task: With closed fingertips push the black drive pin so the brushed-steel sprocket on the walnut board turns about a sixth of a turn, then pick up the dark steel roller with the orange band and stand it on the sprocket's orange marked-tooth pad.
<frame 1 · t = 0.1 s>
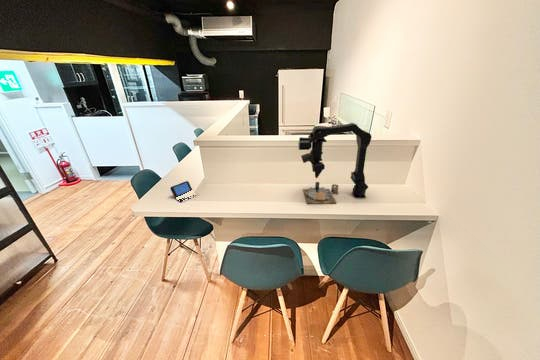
hand: (314, 174, 126), 15 cm above the counter, fingers open, 9 cm apart
roller: (334, 192, 135), on the counter
sprocket base: (318, 196, 131), on the counter
sprocket: (319, 190, 129), point 4 cm above the counter, hinge at 0.0°
handheld game console: (185, 196, 135), on the counter
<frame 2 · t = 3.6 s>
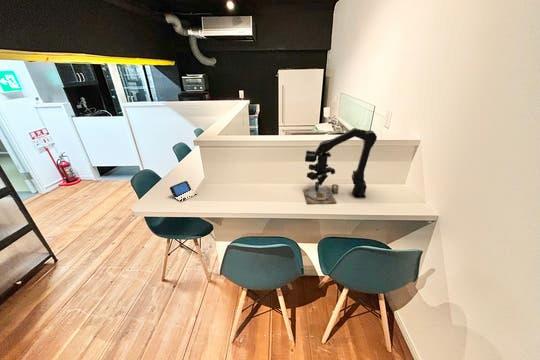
hand: (320, 185, 136), 4 cm above the counter, fingers closed
sprocket: (319, 190, 129), point 4 cm above the counter, hinge at 2.0°, touching gripper
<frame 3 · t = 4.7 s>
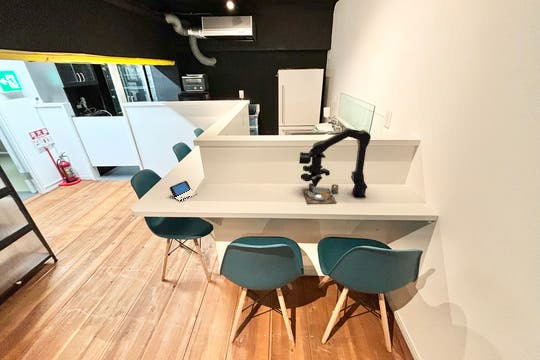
hand: (314, 186, 134), 4 cm above the counter, fingers closed
sprocket: (319, 190, 129), point 4 cm above the counter, hinge at 47.8°, touching gripper
everything else where it was.
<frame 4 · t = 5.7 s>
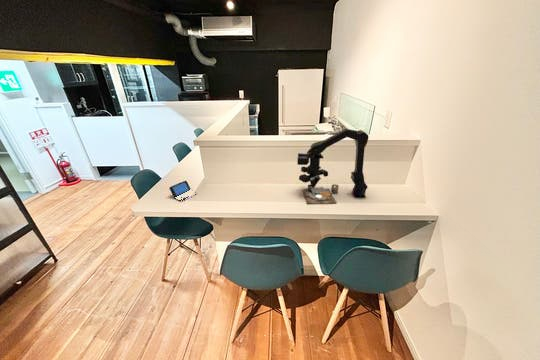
hand: (312, 187, 133), 4 cm above the counter, fingers closed
sprocket: (319, 190, 129), point 4 cm above the counter, hinge at 65.1°, touching gripper
everything else where it was.
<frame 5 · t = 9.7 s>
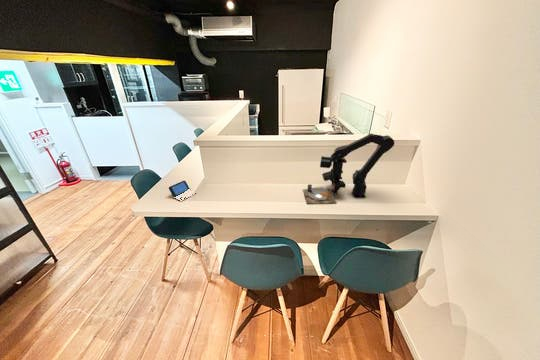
hand: (334, 191, 135), 1 cm above the counter, fingers closed on roller, 4 cm apart
roller: (334, 192, 135), on the counter, touching gripper
sprocket: (319, 190, 129), point 4 cm above the counter, hinge at 65.2°
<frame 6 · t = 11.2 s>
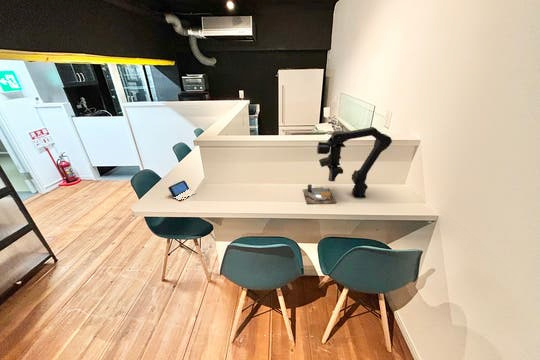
hand: (331, 178, 128), 11 cm above the counter, fingers closed on roller, 4 cm apart
roller: (331, 180, 129), point 10 cm above the counter, touching gripper
when the fingers open (5 cm above the counter, at t = 13.0 s): roller stays where it is, resting on sprocket.
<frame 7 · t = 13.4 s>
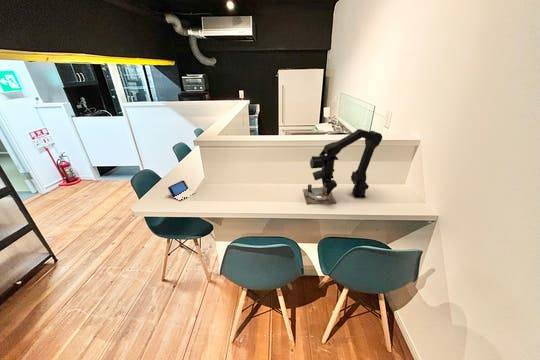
hand: (325, 191, 127), 5 cm above the counter, fingers open, 9 cm apart
roller: (325, 193, 128), point 3 cm above the counter, touching sprocket
sprocket: (319, 190, 129), point 4 cm above the counter, hinge at 65.3°, touching roller
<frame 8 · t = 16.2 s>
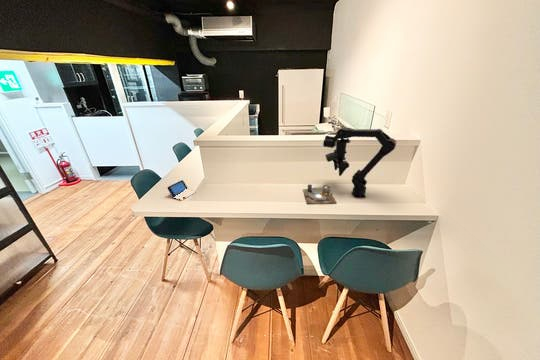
hand: (337, 172, 134), 12 cm above the counter, fingers open, 9 cm apart
at the end: sprocket at +65° (first picture: +0°); roller 0.0 cm from the target spot, point 3.2 cm above the counter; roller tilted 1° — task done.
